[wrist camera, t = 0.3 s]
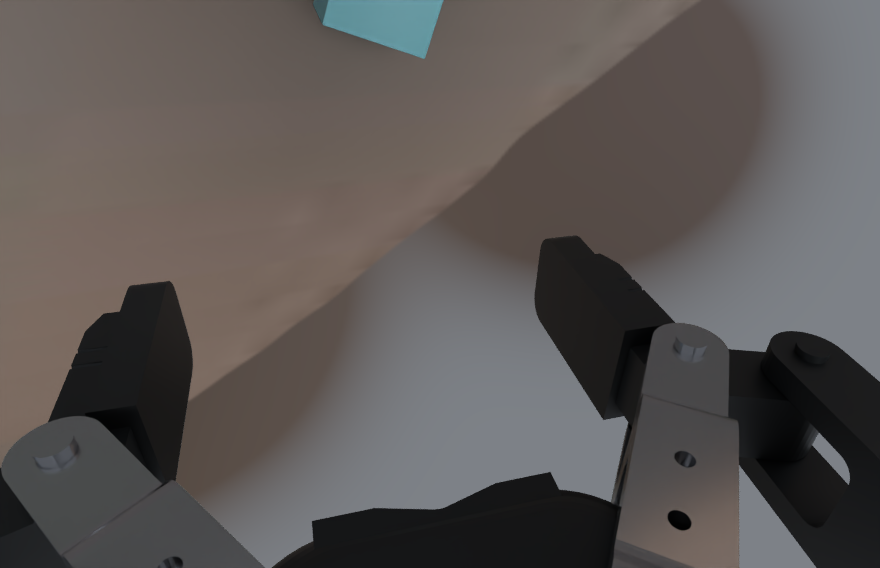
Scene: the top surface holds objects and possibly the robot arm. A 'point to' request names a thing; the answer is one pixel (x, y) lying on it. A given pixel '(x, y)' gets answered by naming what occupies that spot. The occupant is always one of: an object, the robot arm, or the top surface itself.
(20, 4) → the top surface
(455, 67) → the top surface
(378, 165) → the top surface
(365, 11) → the turquoise rectangular block
